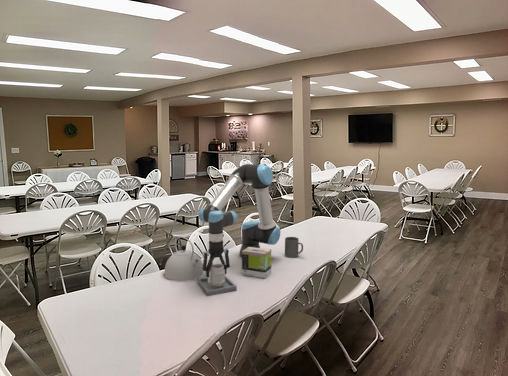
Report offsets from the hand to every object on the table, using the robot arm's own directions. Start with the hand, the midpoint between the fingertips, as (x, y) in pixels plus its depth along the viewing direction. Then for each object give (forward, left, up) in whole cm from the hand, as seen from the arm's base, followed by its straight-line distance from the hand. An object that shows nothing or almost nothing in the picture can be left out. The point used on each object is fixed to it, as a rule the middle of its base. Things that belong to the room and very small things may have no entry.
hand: (216, 281), depth 206 cm
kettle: (-25, -10, -4) cm, 27 cm away
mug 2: (-26, +65, -3) cm, 70 cm away
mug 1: (0, -1, -1) cm, 1 cm away
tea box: (-8, +28, -3) cm, 29 cm away
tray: (0, 0, -3) cm, 3 cm away
